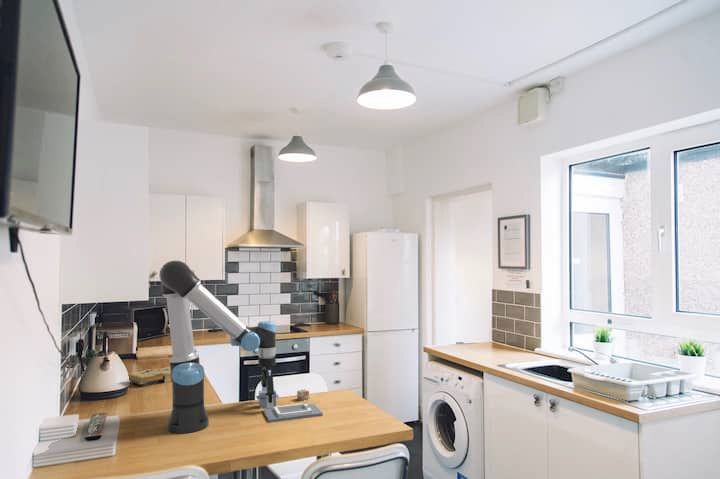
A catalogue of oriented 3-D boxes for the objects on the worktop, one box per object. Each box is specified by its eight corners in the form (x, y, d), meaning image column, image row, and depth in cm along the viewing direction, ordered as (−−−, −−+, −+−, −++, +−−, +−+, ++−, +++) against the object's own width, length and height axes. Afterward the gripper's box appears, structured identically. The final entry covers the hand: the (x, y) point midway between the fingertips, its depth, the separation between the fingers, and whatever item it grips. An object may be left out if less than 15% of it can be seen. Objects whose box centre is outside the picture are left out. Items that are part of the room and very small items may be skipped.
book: (171, 375, 281) (171, 364, 281) (186, 379, 270) (186, 368, 270) (126, 383, 262) (126, 372, 263) (140, 389, 251) (140, 377, 252)
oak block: (301, 401, 224) (301, 392, 224) (297, 399, 227) (297, 390, 227) (309, 400, 226) (309, 391, 226) (305, 398, 229) (304, 389, 229)
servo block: (257, 408, 214) (257, 391, 214) (256, 406, 217) (256, 389, 218) (278, 406, 217) (278, 389, 217) (277, 404, 220) (276, 387, 221)
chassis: (268, 422, 195) (268, 416, 195) (263, 412, 208) (263, 406, 209) (322, 415, 203) (322, 410, 203) (314, 406, 216) (313, 401, 216)
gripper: (280, 361, 208) (281, 412, 207) (270, 351, 231) (271, 397, 230) (262, 362, 205) (263, 414, 204) (254, 352, 228) (255, 399, 227)
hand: (267, 405), depth 217 cm, fingers open, 12 cm apart
